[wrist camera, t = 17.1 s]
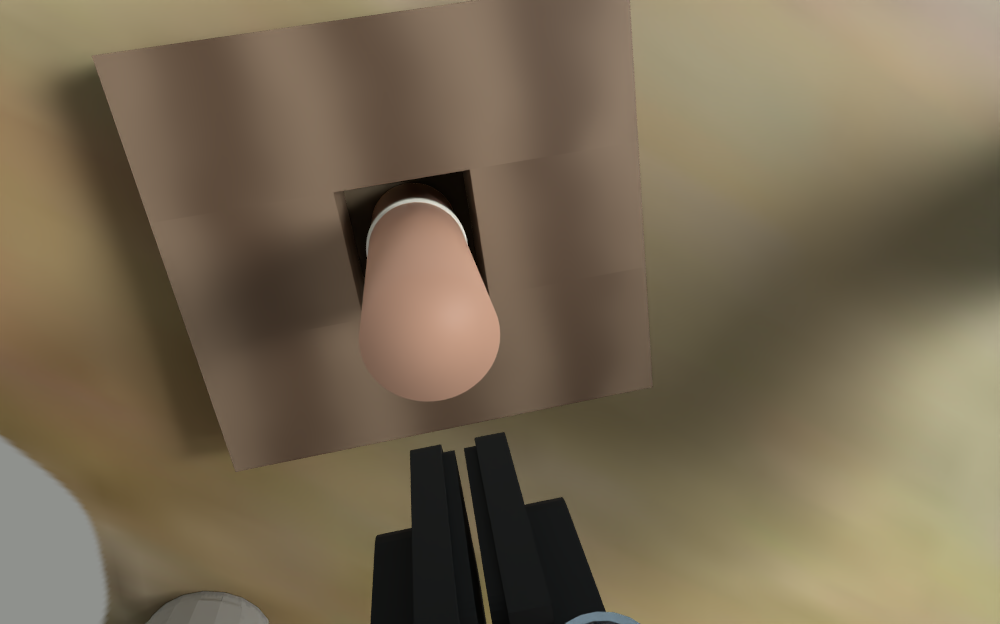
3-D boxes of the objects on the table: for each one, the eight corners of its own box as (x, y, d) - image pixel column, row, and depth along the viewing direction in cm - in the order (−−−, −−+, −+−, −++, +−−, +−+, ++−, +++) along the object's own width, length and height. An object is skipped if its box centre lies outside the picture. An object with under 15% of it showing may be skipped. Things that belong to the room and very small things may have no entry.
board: (598, -12, 29) (628, -22, 26) (625, 353, 36) (652, 386, 32) (131, 56, 27) (91, 55, 24) (252, 427, 34) (235, 471, 31)
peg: (449, 173, 31) (492, 255, 18) (463, 258, 33) (512, 389, 20) (360, 188, 31) (339, 283, 18) (379, 273, 32) (372, 417, 19)
